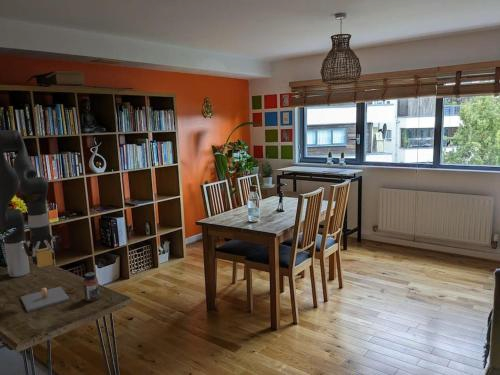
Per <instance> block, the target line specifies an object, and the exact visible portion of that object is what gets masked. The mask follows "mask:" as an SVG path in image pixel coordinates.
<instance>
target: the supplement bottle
mask: <svg viewBox="0 0 500 375" xmlns="http://www.w3.org/2000/svg"><path fill="white" fill-rule="evenodd" d="M82 284H83V285H82V286H83V294H84V300H85V301H86V302H94V301H97V300H98V299H99V298H100V296H101V295H100V286H99V279H98V277H97V276H96V273H95V272H91V271H90V272H86V274H84V279H83V281H82Z"/></svg>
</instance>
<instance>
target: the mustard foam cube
mask: <svg viewBox="0 0 500 375" xmlns="http://www.w3.org/2000/svg"><path fill="white" fill-rule="evenodd" d="M36 258H37V265H36V267H37V268H42V267H46V266H50V265H51V266H52V265H54V260H52V253H51V250H49V249H48V248H47V247H45V248H40V249H38V251H37V253H36Z"/></svg>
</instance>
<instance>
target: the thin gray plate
mask: <svg viewBox="0 0 500 375" xmlns="http://www.w3.org/2000/svg"><path fill="white" fill-rule="evenodd" d="M20 298H21V301H22V303H23V306H24V307H25V310H26V312H27V313H29V312H33V311H37V310H40V309H45V308H48V307H51V306H54V305H58V304H62V303H65V302H68V301H69V302H70V299H71V298H70V297H69V295H68V294H67V293H66V292H65V290H64V289H63V288H62V286H57V287H53V288H50V289H47V287H42V288H41V291H37V292H34V293H29V294H26V295H23V296H20Z"/></svg>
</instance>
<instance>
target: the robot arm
mask: <svg viewBox="0 0 500 375" xmlns="http://www.w3.org/2000/svg"><path fill="white" fill-rule="evenodd" d="M10 151H17V154H16V156H15V157H14V159H13V162H12V163H13V164H12V165H13V166H12V165H11V164H10V163H9V161H8V160H7V158H6V157H5V153H4V152H10ZM37 173H38V172H37V170H36V169H35V167H34V165H33V163H32V161H31V159H30V157H29V154H28V150H27V147H26V144H25V142H24V138H23V135H22V134H21V132H20V131H19V130H17V129H9V130H8V129H6V130H0V230H5V231H6V230H11V229H14V230H13V231H12V232H10V233H9V234H7V235H5V236H4V237H3V243H4V244H3V245H4V249H5V257H6V264H7V271H8V276H9V277H12V278H17V277H21V276H25V275H27V274H29V273H30V272H31V271H30V263H29V257H31V260H32V261H31V262H32V263H33V264H34V265H35V266H37V258H36V253H37V251H38V250H40V249H45V248H48V249H49V250H51V253H52V260H53V261H54V260H55V252H56V251H58V250H59V246H60V245H59V243H60V237H59V236H57V235H55V236H52V234H51V230H50V229H51V228H50V220H49V216H48V209H47V195H48V192H49V191H48V190H49V182H48V180H47V178H45V177H44V176H38V175H37ZM18 191H20V193H21V194H22V195H24V196H33V195H37V197H36V198H34V199H31V200H29V201H27V203H26V208H27V222H28V228H29V236H30V237H29V240H28V241H26V232H25V219H24V214H23V211H22V209H20V208H15V209H8V207H9V205H10V203H11V201H12V200H13V199H14V198H15V196H16V194H18ZM51 241H53V248H52V246H51V245H50V243H51ZM30 245H32V251H31V252H30V250H29V247H30Z"/></svg>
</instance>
